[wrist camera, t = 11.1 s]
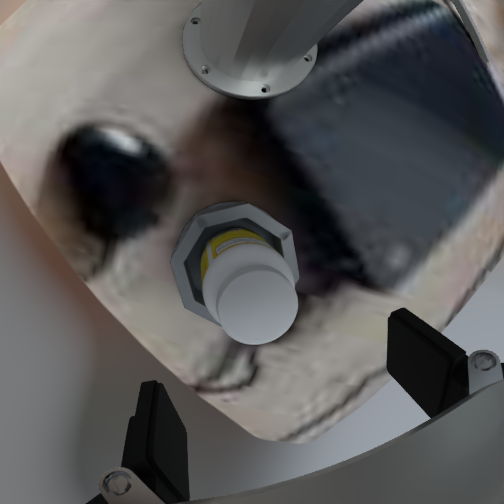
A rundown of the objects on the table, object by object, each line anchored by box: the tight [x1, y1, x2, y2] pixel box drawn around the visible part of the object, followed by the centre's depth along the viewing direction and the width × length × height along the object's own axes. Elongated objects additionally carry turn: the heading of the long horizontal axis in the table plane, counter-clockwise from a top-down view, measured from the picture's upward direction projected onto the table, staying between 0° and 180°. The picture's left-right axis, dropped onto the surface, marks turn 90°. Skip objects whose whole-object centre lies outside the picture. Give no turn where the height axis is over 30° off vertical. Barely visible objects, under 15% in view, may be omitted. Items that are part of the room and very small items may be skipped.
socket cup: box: [170, 201, 300, 327], centre depth 26 cm, size 10×10×4 cm
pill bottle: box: [200, 226, 298, 345], centre depth 22 cm, size 6×6×11 cm
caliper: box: [452, 0, 490, 70], centre depth 22 cm, size 20×1×6 cm, turn 42°
